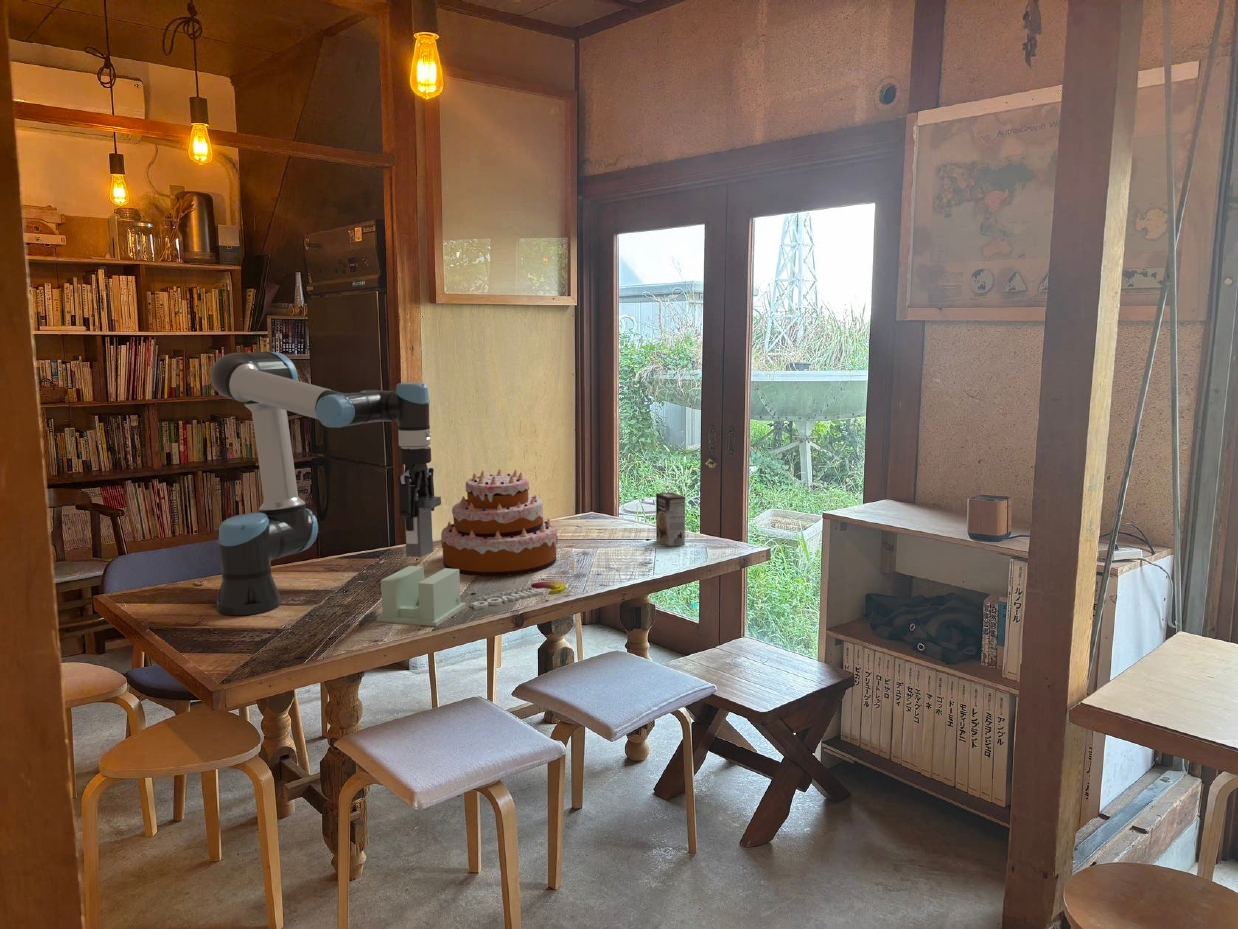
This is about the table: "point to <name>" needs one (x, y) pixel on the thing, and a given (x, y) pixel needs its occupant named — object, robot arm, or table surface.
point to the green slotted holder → (420, 596)
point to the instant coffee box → (670, 519)
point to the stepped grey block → (423, 526)
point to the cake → (498, 529)
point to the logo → (517, 594)
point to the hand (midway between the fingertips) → (419, 540)
